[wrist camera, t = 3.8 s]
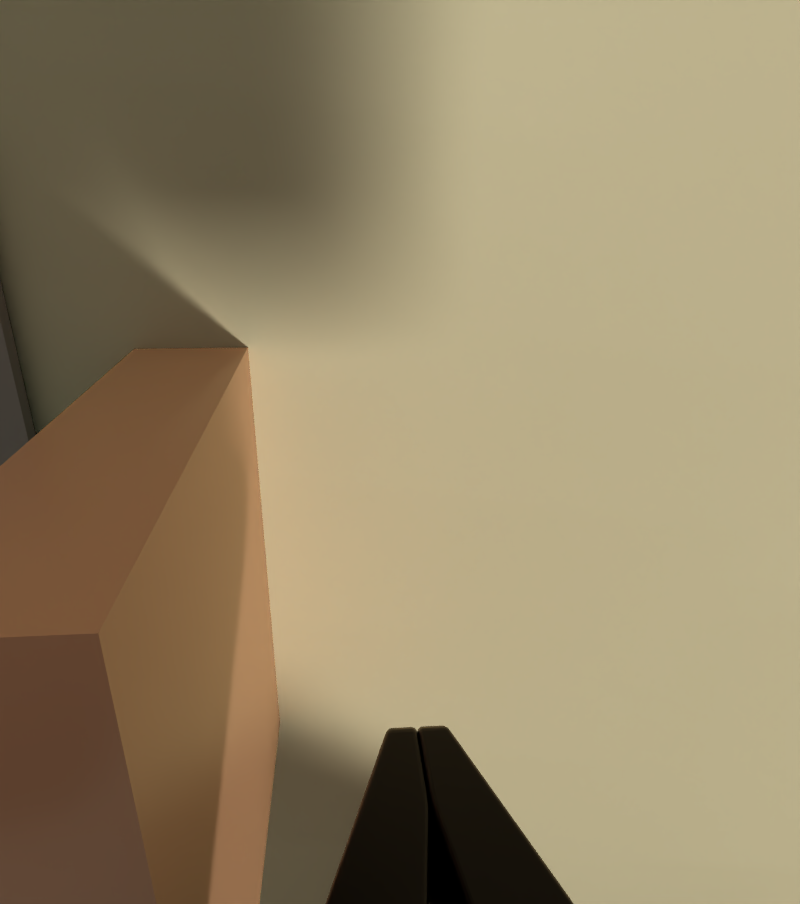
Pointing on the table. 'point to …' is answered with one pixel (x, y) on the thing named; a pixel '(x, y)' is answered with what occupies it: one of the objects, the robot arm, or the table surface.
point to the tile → (138, 643)
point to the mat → (11, 393)
